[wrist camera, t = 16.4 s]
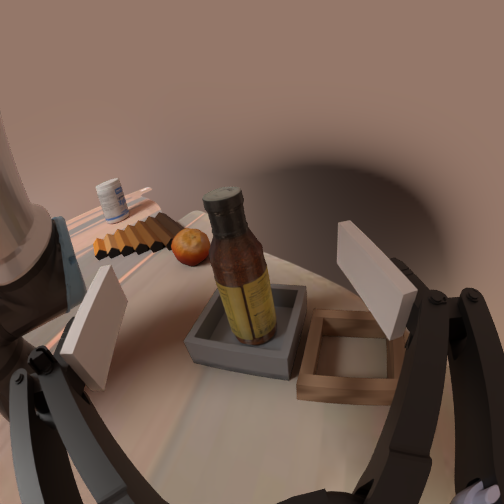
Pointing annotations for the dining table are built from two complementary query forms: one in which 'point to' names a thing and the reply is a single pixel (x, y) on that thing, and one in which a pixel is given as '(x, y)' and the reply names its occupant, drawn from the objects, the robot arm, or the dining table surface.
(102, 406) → the dining table surface
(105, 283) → the robot arm
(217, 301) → the grey square tray
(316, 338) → the walnut holder
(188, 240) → the fruit
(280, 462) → the dining table surface
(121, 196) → the supplement tub
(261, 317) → the sauce bottle
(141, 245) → the brown ridged flat piece
